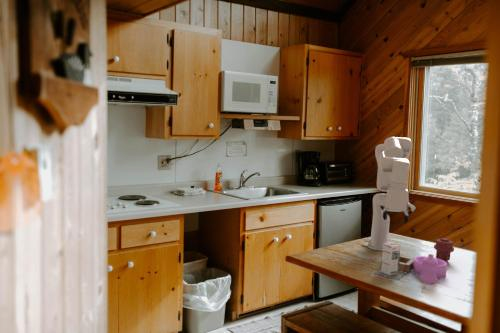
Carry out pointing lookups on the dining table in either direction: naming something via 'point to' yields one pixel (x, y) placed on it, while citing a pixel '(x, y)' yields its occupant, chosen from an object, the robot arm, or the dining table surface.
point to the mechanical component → (443, 249)
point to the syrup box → (390, 258)
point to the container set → (429, 268)
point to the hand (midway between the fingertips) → (395, 221)
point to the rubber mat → (395, 276)
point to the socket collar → (405, 264)
